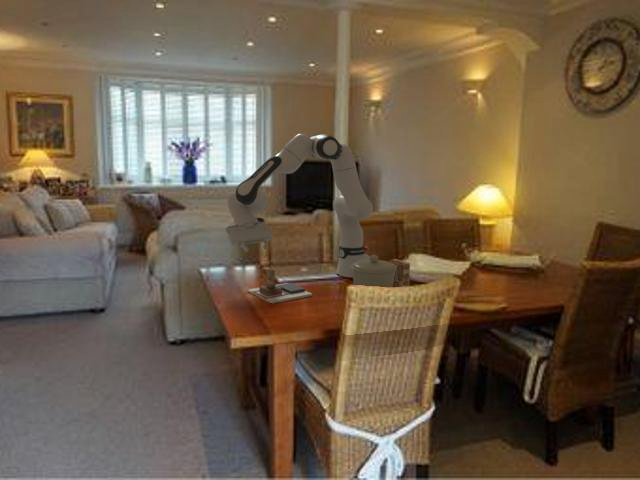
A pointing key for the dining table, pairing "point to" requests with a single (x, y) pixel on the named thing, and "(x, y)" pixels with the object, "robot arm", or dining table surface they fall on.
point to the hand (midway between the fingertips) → (256, 249)
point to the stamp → (270, 284)
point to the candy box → (401, 273)
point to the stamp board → (283, 293)
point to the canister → (373, 272)
